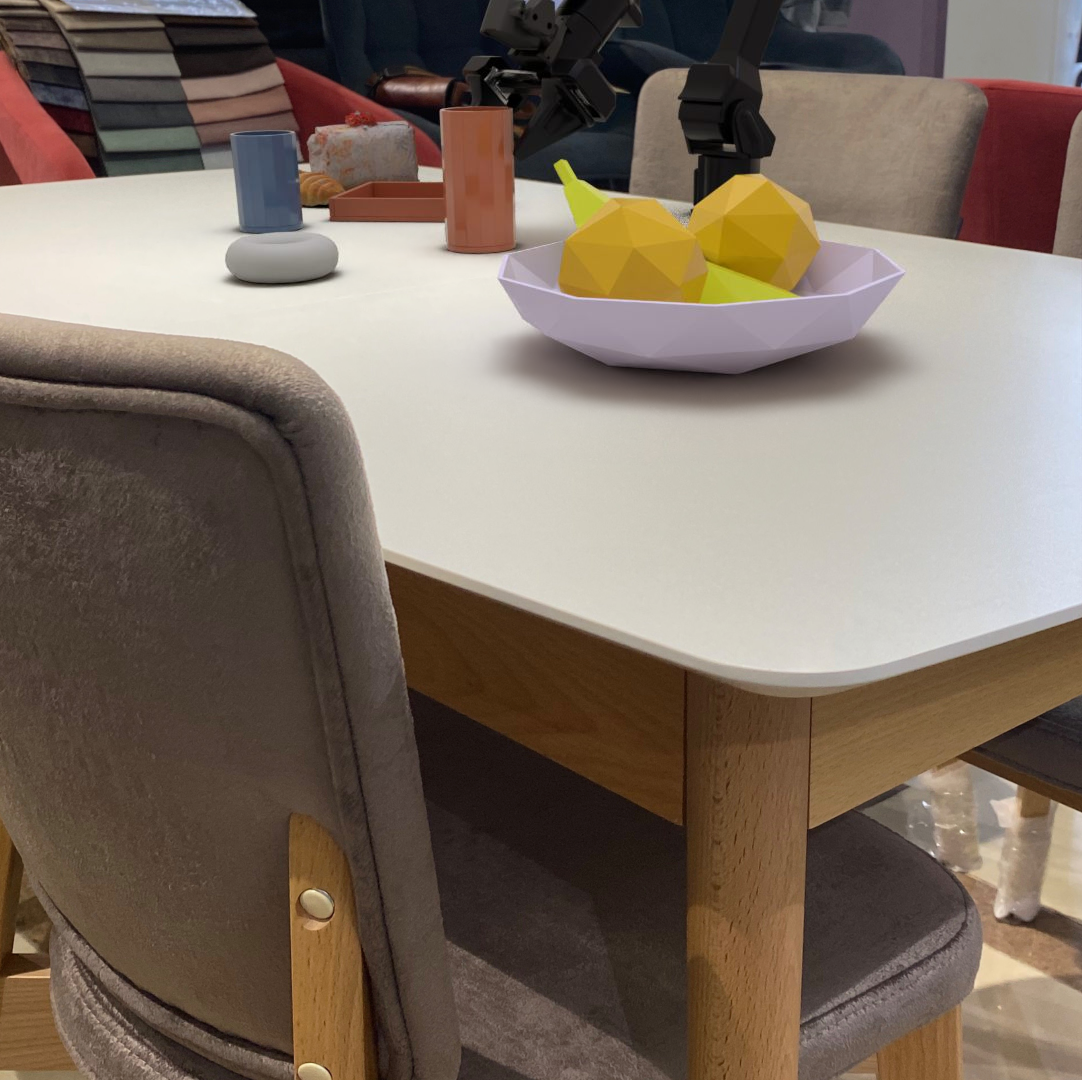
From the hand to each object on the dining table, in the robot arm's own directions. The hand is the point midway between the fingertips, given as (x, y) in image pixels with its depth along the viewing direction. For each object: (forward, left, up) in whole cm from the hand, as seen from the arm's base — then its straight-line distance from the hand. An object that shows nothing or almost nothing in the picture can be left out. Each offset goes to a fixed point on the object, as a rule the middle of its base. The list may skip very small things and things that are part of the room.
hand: (488, 154), depth 125 cm
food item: (+39, -31, -9) cm, 51 cm away
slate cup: (+28, 0, -9) cm, 30 cm away
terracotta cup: (0, +1, -9) cm, 9 cm away
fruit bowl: (-35, +29, -9) cm, 46 cm away
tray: (+20, -17, -9) cm, 28 cm away
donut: (+8, +21, -9) cm, 25 cm away
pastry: (+37, -18, -9) cm, 42 cm away
